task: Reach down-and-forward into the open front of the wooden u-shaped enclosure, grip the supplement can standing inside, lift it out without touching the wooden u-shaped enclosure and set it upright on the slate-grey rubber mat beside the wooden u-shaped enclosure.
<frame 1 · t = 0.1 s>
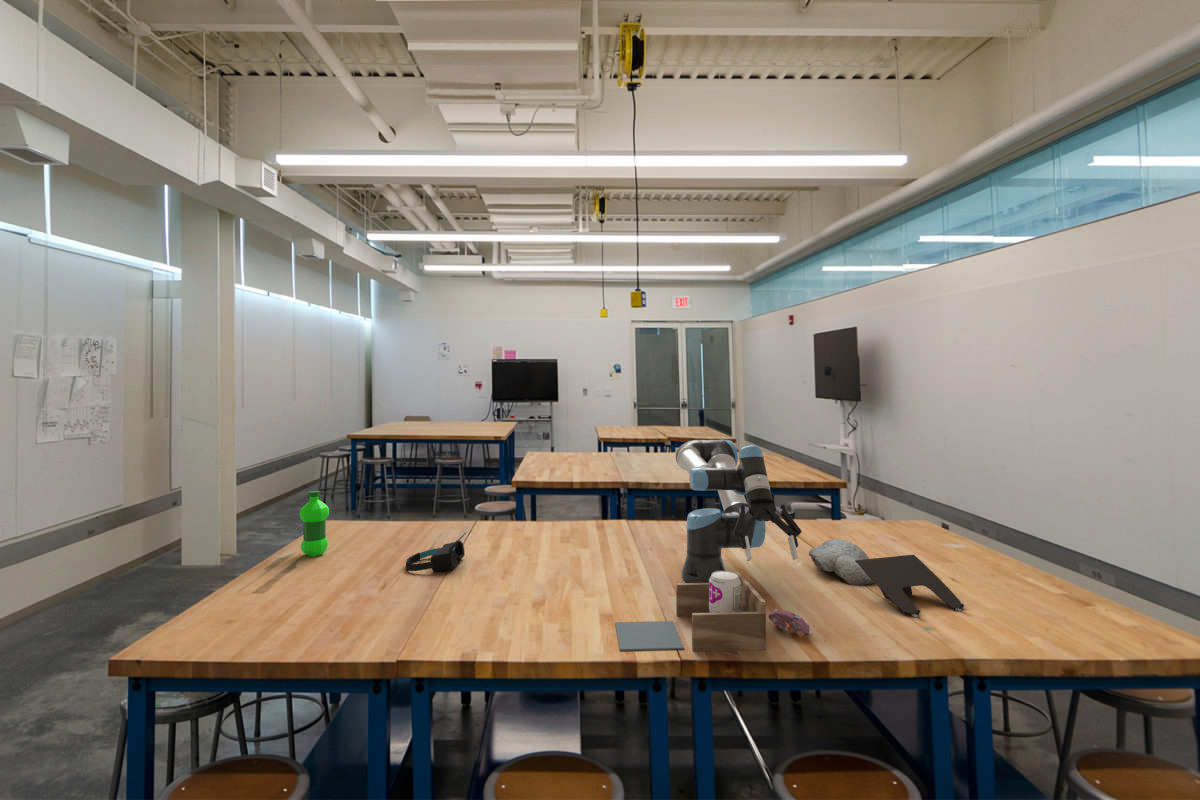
hand: (772, 559, 160), 15 cm above the workbench, tool tilted 35°, fingers open, 13 cm apart
video game controller: (788, 631, 148), on the workbench
mat: (647, 635, 145), on the workbench
wooden u-shaped enclosure: (724, 630, 148), on the workbench
grey rock: (842, 572, 196), on the workbench
virtual reality headset: (435, 566, 205), on the workbench
portable electronic device stand: (911, 603, 168), on the workbench
plastic bottle: (314, 555, 218), on the workbench
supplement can: (724, 631, 148), resting in wooden u-shaped enclosure
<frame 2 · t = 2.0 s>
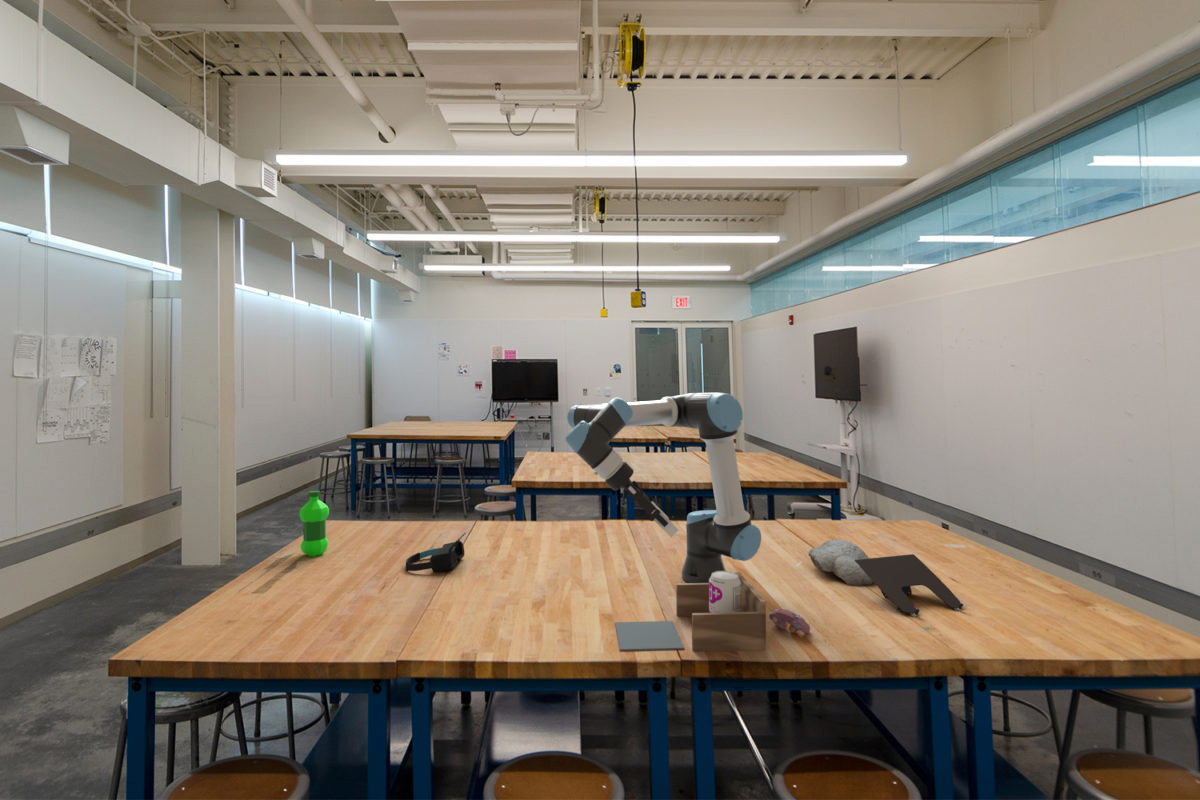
hand: (669, 527, 147), 28 cm above the workbench, tool tilted 45°, fingers open, 13 cm apart
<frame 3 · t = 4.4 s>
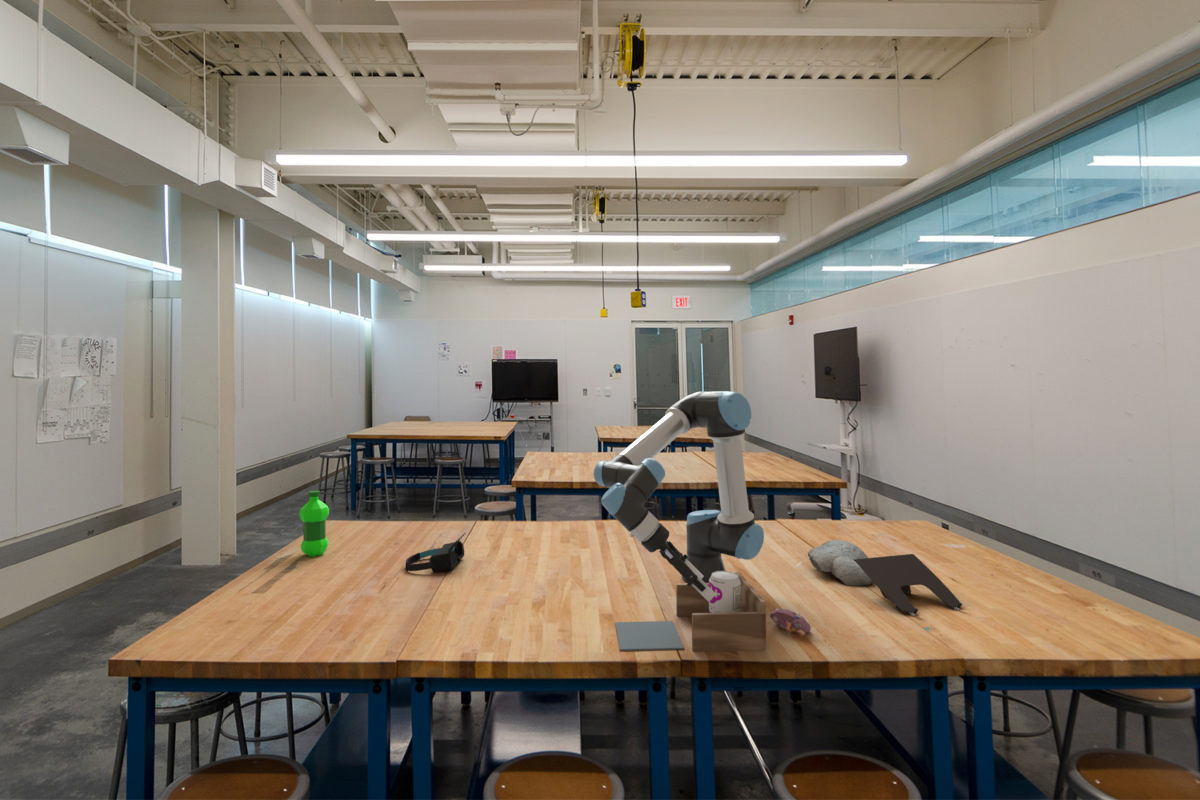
hand: (705, 588, 147), 12 cm above the workbench, tool tilted 45°, fingers open, 13 cm apart
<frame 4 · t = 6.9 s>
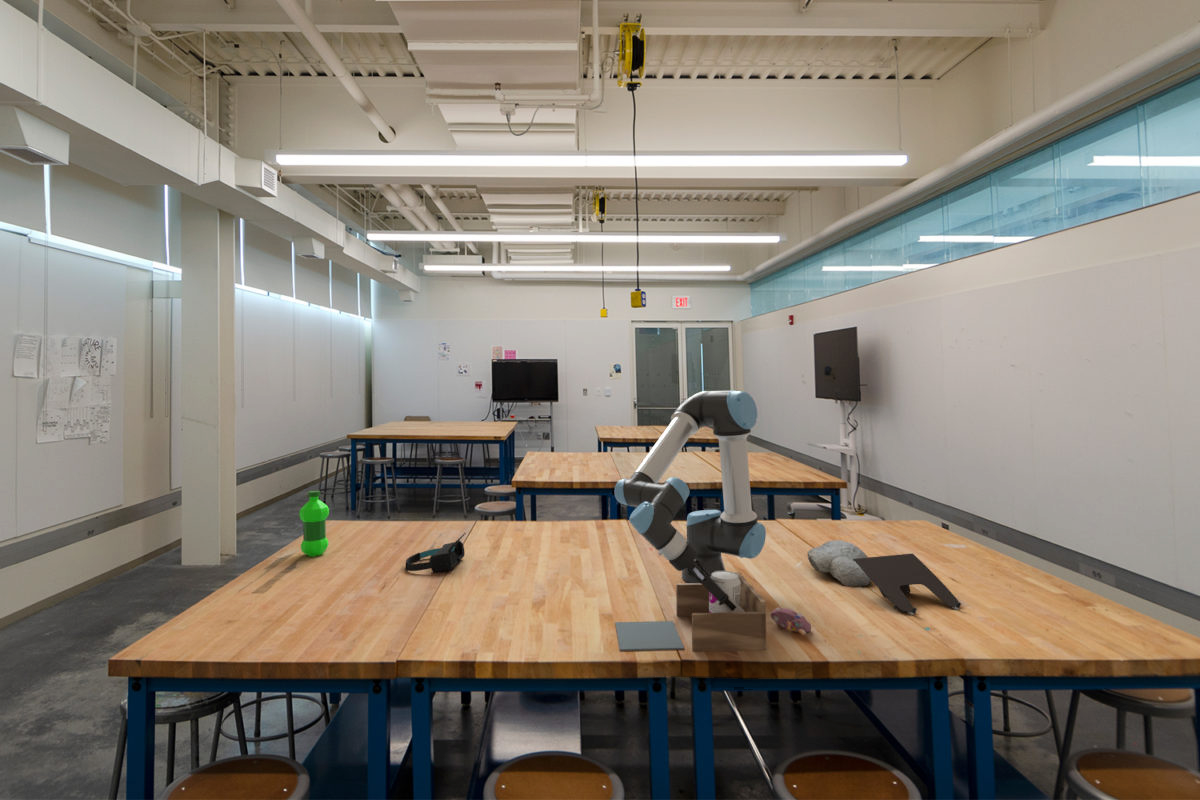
hand: (737, 609, 148), 6 cm above the workbench, tool tilted 45°, fingers closed on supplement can, 8 cm apart
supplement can: (724, 631, 148), resting in wooden u-shaped enclosure, touching gripper
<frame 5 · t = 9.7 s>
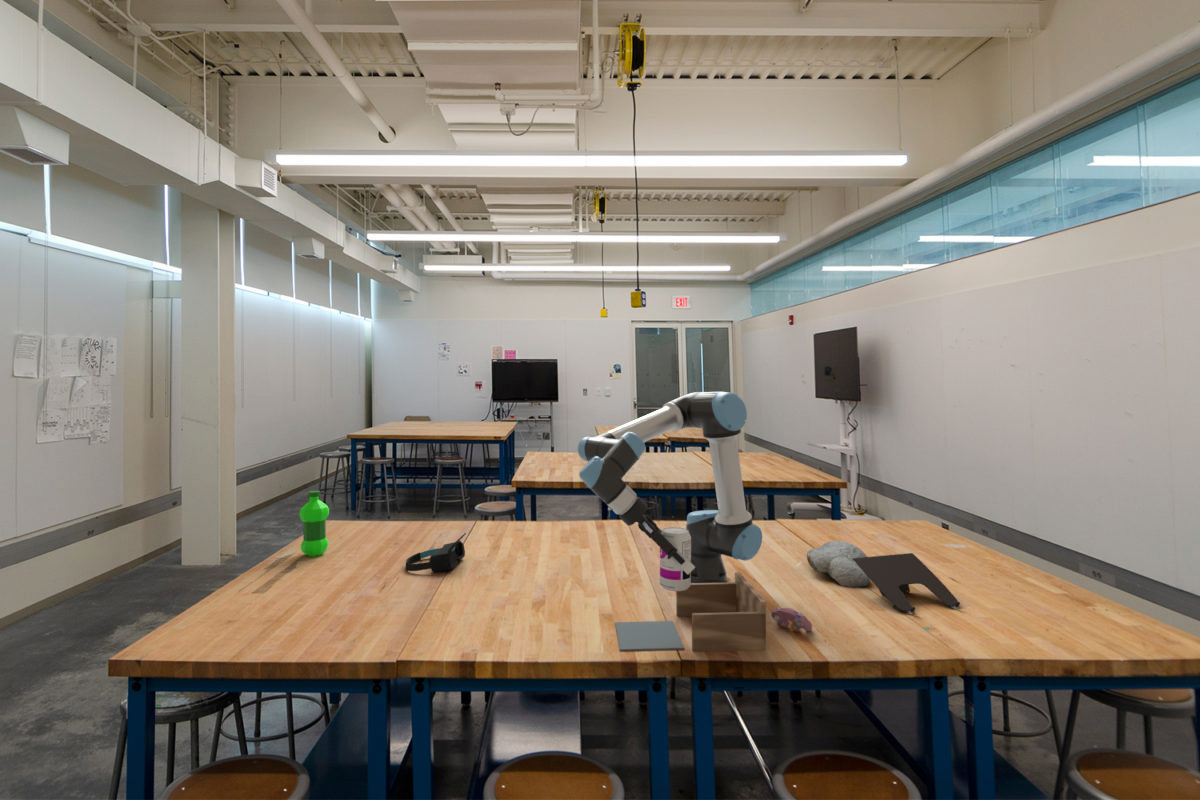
hand: (687, 565, 147), 18 cm above the workbench, tool tilted 45°, fingers closed on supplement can, 8 cm apart
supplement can: (675, 587, 147), point 12 cm above the workbench, touching gripper
when the fingers open (8 cm above the workbench, at t = 12.6 s): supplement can drops 2 cm, resting on mat.
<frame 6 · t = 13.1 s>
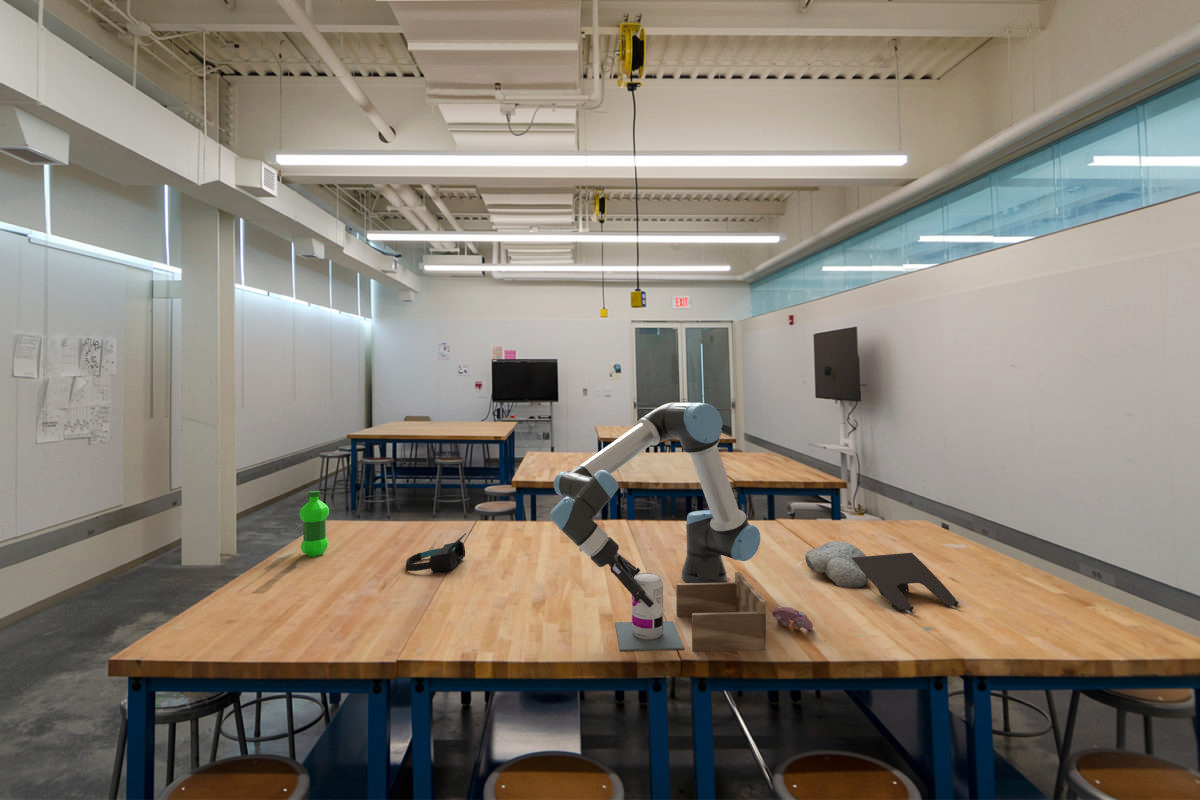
hand: (656, 602, 145), 9 cm above the workbench, tool tilted 45°, fingers open, 13 cm apart
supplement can: (647, 634, 145), resting on mat
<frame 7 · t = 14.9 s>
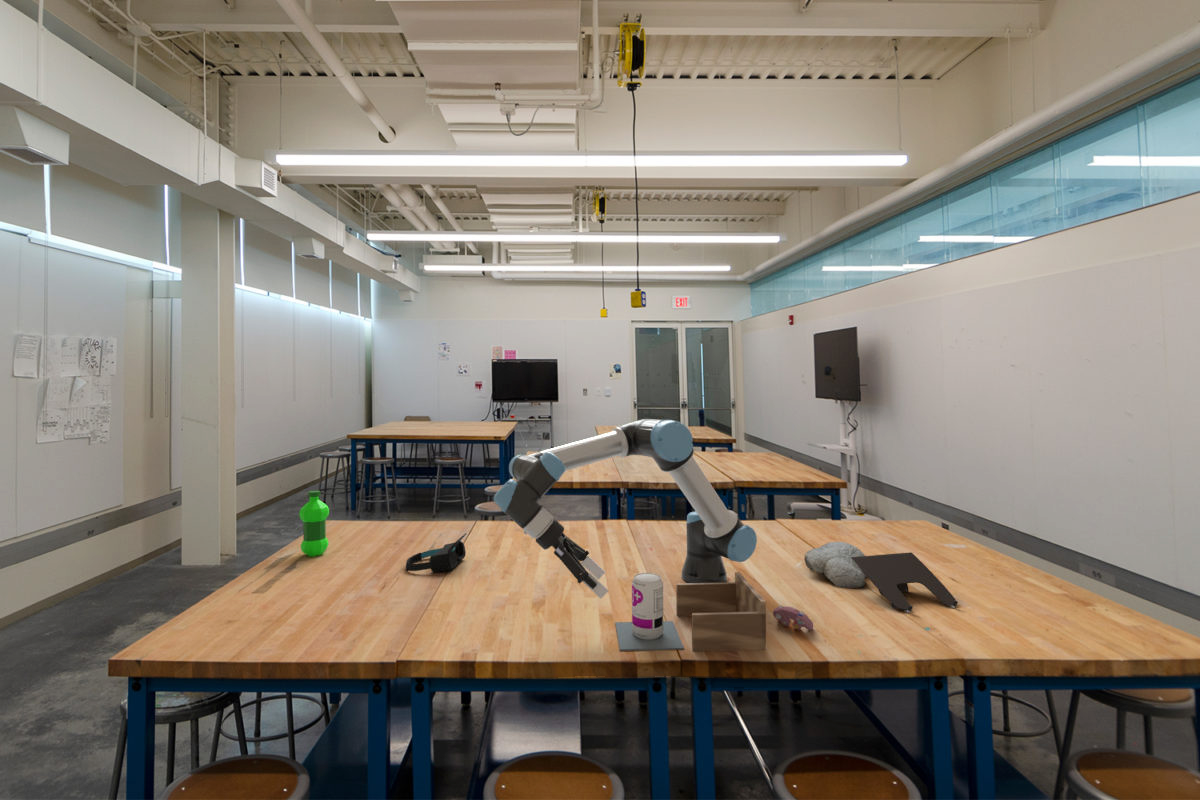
hand: (603, 584, 144), 14 cm above the workbench, tool tilted 45°, fingers open, 13 cm apart
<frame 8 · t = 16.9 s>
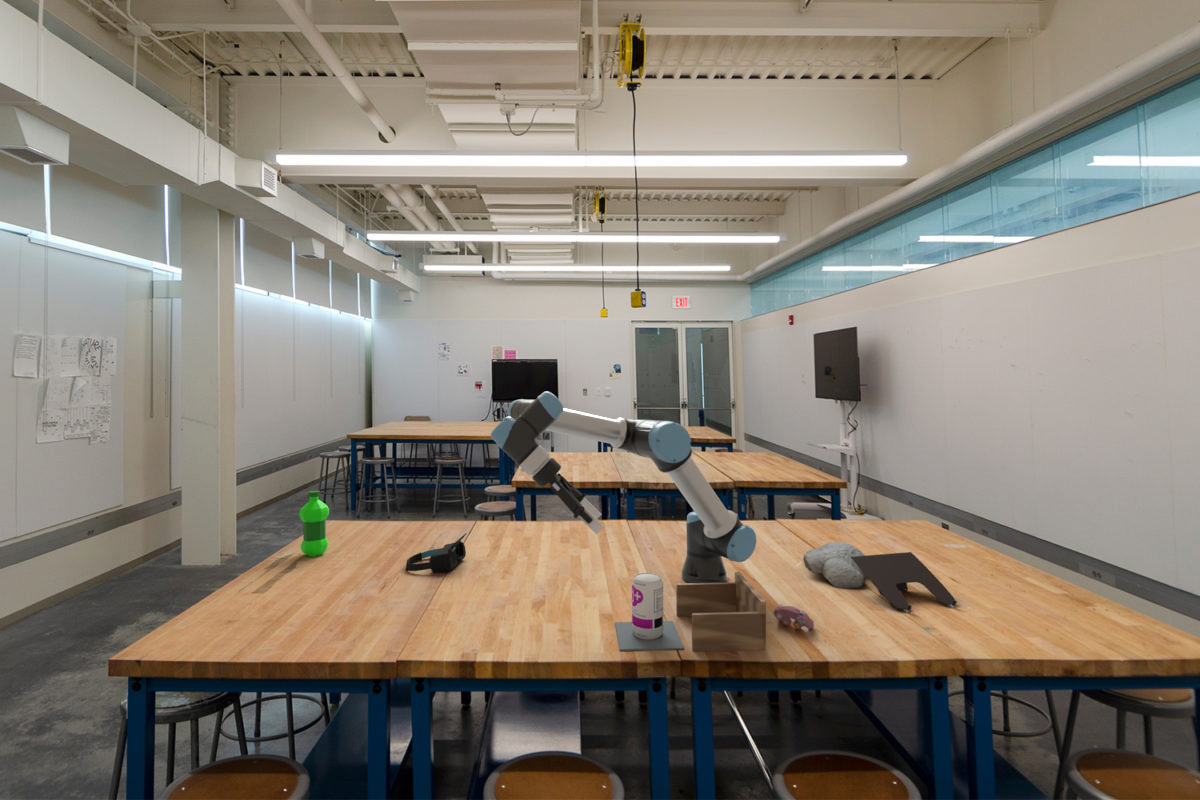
hand: (599, 523, 144), 30 cm above the workbench, tool tilted 45°, fingers open, 13 cm apart
at the end: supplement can 0.2 cm from the mat (horizontally); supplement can tilted 0°; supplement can touching mat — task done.
